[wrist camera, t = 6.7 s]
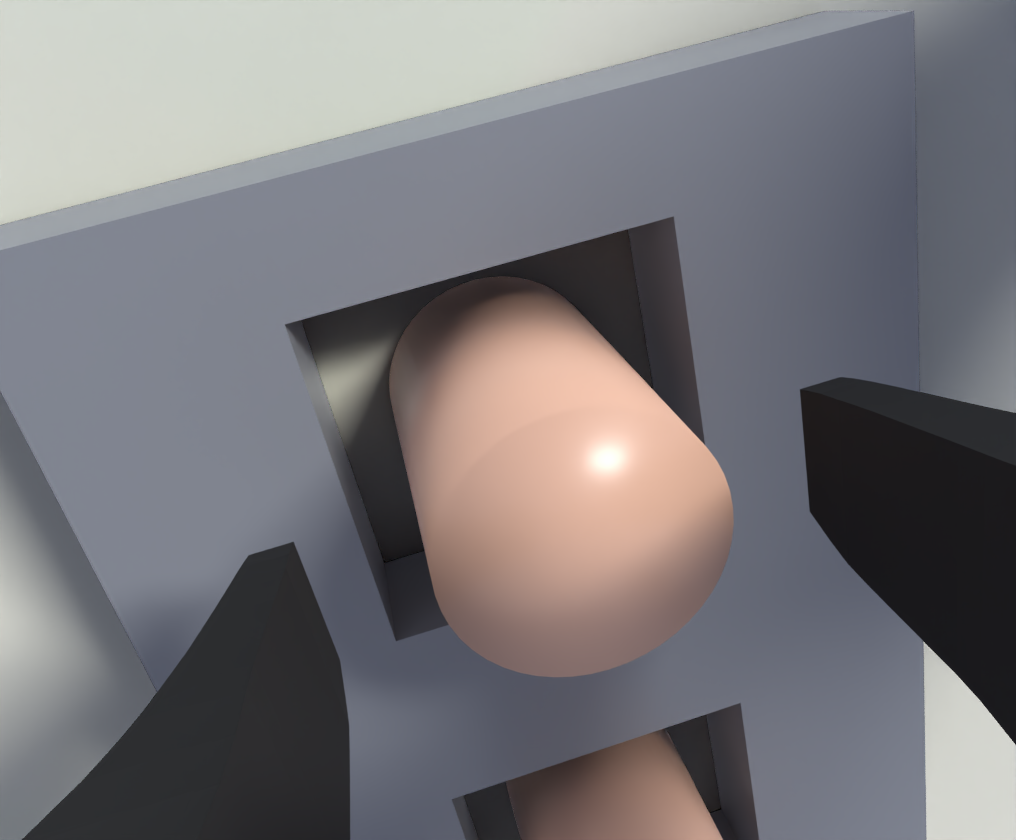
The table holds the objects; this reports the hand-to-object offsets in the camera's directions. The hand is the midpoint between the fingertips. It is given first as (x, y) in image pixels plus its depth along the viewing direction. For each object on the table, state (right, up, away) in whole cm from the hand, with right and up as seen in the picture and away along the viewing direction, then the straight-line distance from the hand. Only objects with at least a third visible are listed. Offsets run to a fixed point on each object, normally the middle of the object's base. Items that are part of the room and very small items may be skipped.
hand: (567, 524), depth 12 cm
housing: (0, -2, +7) cm, 7 cm away
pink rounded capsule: (-1, +2, +5) cm, 5 cm away
